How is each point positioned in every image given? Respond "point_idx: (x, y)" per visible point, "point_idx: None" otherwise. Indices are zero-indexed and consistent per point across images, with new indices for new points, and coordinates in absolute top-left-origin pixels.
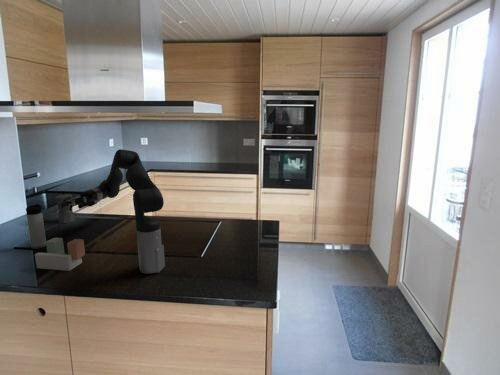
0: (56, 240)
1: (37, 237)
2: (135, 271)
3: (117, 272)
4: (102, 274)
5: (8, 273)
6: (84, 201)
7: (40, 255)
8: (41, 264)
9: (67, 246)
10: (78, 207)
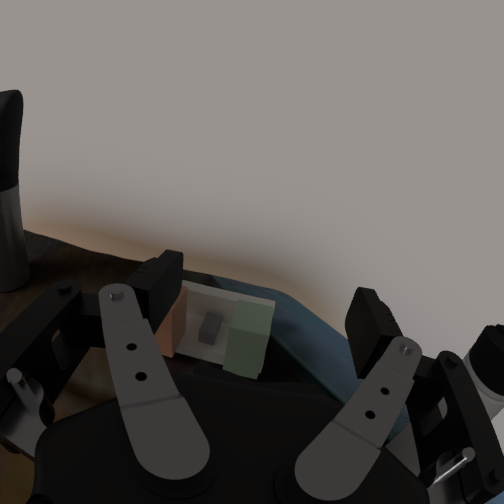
0: (240, 311)
1: (404, 428)
2: (37, 278)
3: None
4: (95, 283)
5: (313, 319)
6: (130, 292)
7: (256, 298)
8: None
9: (186, 297)
10: (181, 278)
